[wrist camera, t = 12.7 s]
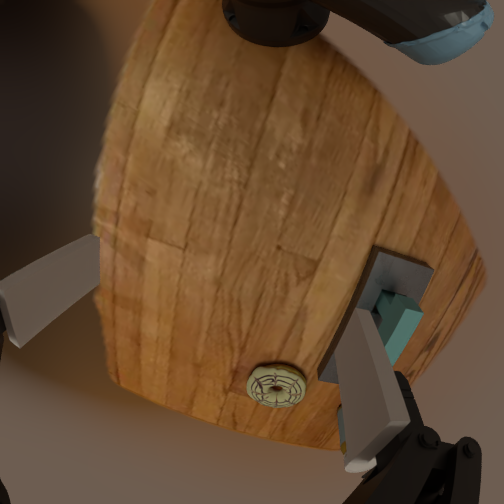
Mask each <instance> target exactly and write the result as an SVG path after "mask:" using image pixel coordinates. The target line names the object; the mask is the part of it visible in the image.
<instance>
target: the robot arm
mask: <svg viewBox="0 0 504 504" xmlns="http://www.w3.org/2000/svg"><path fill="white" fill-rule="evenodd" d="M222 9H223V14H224V16H225V18H226V20H227V22H228V24H229V26H230V27H231V28H232V30H233V31H234V32H235V33H237V34H238V35H239V36H241V37H242V38H244V39H246V40H248V41H250V42H253V43H256V44H259V45H264V46H272V47H284V46H292V45H297V44H300V43H303V42H306V41H308V40H310V39H312V38H313V37H315V36H316V35H317V34H319V33H320V32H321V31H322V30H323V28H324V27H325V25H326V23H327V21H328V18H329V14H330V11H332V12H333V13H336V14H338V15H339V16H341V17H343V18H346V19H347V20H349V21H351V22H353V23H354V24H357V25H358V26H360V27H362V28H363V29H365V30H367V31H368V32H370V33H372V34H373V35H375V36H376V37H378V38H380V39H381V40H383V41H384V43H385V44H387V45H388V46H390V47H394V48H396V49H398V50H399V51H401V52H402V53H404V54H405V55H407V56H408V57H410V58H411V59H413V60H414V61H416V62H418V63H420V64H425V65H438V64H442V63H445V62H448V61H450V60H452V59H454V58H456V57H458V56H460V55H461V54H463V53H465V52H466V51H467V50H469V49H470V48H471V47H472V46H474V45H475V44H476V43H477V42H478V41H480V40H481V39H482V37H483V36H484V32H485V31H486V30H488V29H489V28H490V27H491V25H492V23H493V20H494V13H493V10H492V8H491V7H490V4H489V3H488V2H487V1H486V0H222ZM99 284H100V237H97V236H94V235H91V234H88V235H86V236H84V237H82V238H80V239H78V240H76V241H74V242H72V243H70V244H68V245H65V246H63V247H62V248H60V249H58V250H56V251H54V252H52V253H50V254H48V255H46V256H44V257H42V258H40V259H38V260H36V261H35V262H33V263H31V264H29V265H27V266H25V267H23V268H21V269H19V270H18V271H17V272H14V273H12V274H11V275H9V276H7V277H5V278H4V279H2V280H1V281H0V360H1V354H2V348H3V342H4V336H3V332H4V331H5V330H7V333H8V336H9V339H10V341H11V342H12V343H14V344H15V345H16V346H17V347H19V348H21V347H22V346H23V345H25V344H26V343H27V342H28V341H29V340H30V339H31V338H33V337H34V336H35V335H36V334H37V333H38V332H40V331H41V330H42V329H43V328H44V327H46V326H47V325H48V324H49V323H50V322H52V321H53V320H54V319H55V318H56V317H58V316H59V315H60V314H61V313H62V312H64V311H65V310H66V309H68V308H69V307H70V306H71V305H73V304H74V303H75V302H76V301H78V300H79V299H80V298H82V297H83V296H84V295H85V294H87V293H88V292H89V291H91V290H92V289H93V288H95V287H96V286H97V285H99ZM334 354H335V361H336V367H337V374H338V381H339V388H340V395H341V403H342V411H343V419H344V429H345V438H346V449H347V461H348V464H367V463H368V462H370V461H371V460H372V459H373V458H374V457H376V464H377V465H375V466H374V467H373V468H372V469H371V470H370V471H368V472H367V473H366V474H364V475H363V476H362V478H364V479H363V480H362V482H361V483H360V484H359V485H358V486H357V488H356V489H355V490H354V491H353V492H352V494H351V495H350V496H349V497H348V498H347V499H346V500H345V502H343V503H342V504H478V503H479V494H480V483H481V460H482V453H481V448H480V446H479V444H478V442H476V440H474V439H472V438H471V437H463V438H461V439H460V440H459V441H458V442H457V443H456V444H455V445H454V444H450V443H445V442H441V440H440V437H439V435H438V434H437V432H436V431H434V430H433V429H432V428H430V427H427V426H424V424H423V421H422V418H421V416H420V413H419V409H418V407H417V404H416V402H415V399H414V396H413V393H412V392H411V388H410V385H409V383H408V380H407V379H406V378H405V377H404V375H403V374H402V373H401V372H400V371H393V368H392V365H391V363H390V360H389V358H388V355H387V352H386V350H385V347H384V345H383V342H382V340H381V337H380V335H379V332H378V330H377V328H376V325H375V323H374V321H373V318H372V316H371V314H370V311H368V310H364V309H360V308H356V307H355V309H354V311H353V313H352V316H351V318H350V320H349V322H348V324H347V326H346V329H345V331H344V333H343V335H342V337H341V339H340V341H339V343H338V345H337V347H336V349H335V351H334ZM443 488H444V489H443ZM0 504H11V503H10V499H9V495H8V493H7V490H6V488H5V486H4V485H3V483H2V482H1V479H0Z"/></svg>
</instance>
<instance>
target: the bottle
mask: <svg viewBox="0 0 504 504" xmlns="http://www.w3.org/2000/svg"><path fill="white" fill-rule="evenodd" d="M337 413H338V414H337V415H338V425H339V435H340V447H341V451H342V453H343V455H344V467H345V470H346V471H347V472H352V473H356V472H362V471H366V470H368V469H371V468H373V467H374V466H375V465H377V464H376V457H374V458H373V459H372V460H371V461H370V462H368V463H367V464H348V461H347V449H346V438H345V429H344V419H343V411H342V405H341V406H340V407H339V409H338V412H337Z"/></svg>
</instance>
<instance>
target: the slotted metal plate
mask: <svg viewBox="0 0 504 504" xmlns="http://www.w3.org/2000/svg"><path fill="white" fill-rule="evenodd" d="M433 272H434V269H433V268H432V267H430V266H429V265H428V264H427V263H425V262H422V261H420V260H417V259H414V258H411V257H408V256H405V255H402V254H399V253H396V252H393V251H390V250H387V249H384V248H381V247H378V246H375V245H373V247H372V249H371V252H370V255H369V257H368V260H367V262H366V265H365V268H364V270H363V273H362V275H361V277H360V280H359V282H358V285H357V287H356V289H355V292H354V294H353V296H352V299H351V301H350V303H349V305H348V308H347V310H346V312H345V314H344V316H343V319H342V321H341V323H340V325H339V327H338V329H337V331H336V333H335V335H334V337H333V340H332V342H331V344H330V346H329V348H328V349H327V351H326V353H325V355H324V357H323V359H322V361H321V363H320V365H319V367H318V369H317V371H318V380H319V381H324V382H330V383H336V384H339V381H338V374H337V367H336V361H335V354H334V351H335V349H336V347H337V345H338V343H339V341H340V339H341V337H342V335H343V333H344V331H345V329H346V326H347V324H348V322H349V320H350V318H351V316H352V313H353V311H354V309H355V307H356V308H360V309H364V310H368V311H370V314H371V316H372V318H373V321H374V323H375V325H376V328H377V330H378V329H379V327H380V325H381V323H382V321H383V319H382V317H381V315H380V313H379V311H378V309H377V307H376V305H375V303H376V301H377V299H378V297H379V295H380V292H381V290H382V289H384V290H388V291H391V292H395V293H398V294H399V295H402V296H406V297H409V298H413V299H414V301H415V302H416V303H417V305H418V304H419V302H420V300H421V298H422V296H423V294H424V292H425V290H426V288H427V285H428V283H429V281H430V279H431V277H432V274H433Z"/></svg>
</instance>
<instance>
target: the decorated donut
mask: <svg viewBox="0 0 504 504" xmlns="http://www.w3.org/2000/svg"><path fill="white" fill-rule="evenodd" d="M279 386H280V387H279ZM305 392H306V380H305V378H304V377H303V375H302V374H301V373H300V372H299V371H298V370H297V369H295V368H293V367H291V366H289V365H284V364H272V365H267V366H263V367H257V368H256V369H255V370H254V371H253V373H252V374H251V375H250V377H249V379H248V382H247V393H248V394H249V396H250V397H251V398H253V399H254V400H256V401H257V402H259V403H261V404H262V405H265V406H270V407H274V408H278V407H279V408H280V407H289V406H292V405H294V404H296V403H298V402H299V401H301V400H302V399H303V397H304V395H305Z"/></svg>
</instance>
